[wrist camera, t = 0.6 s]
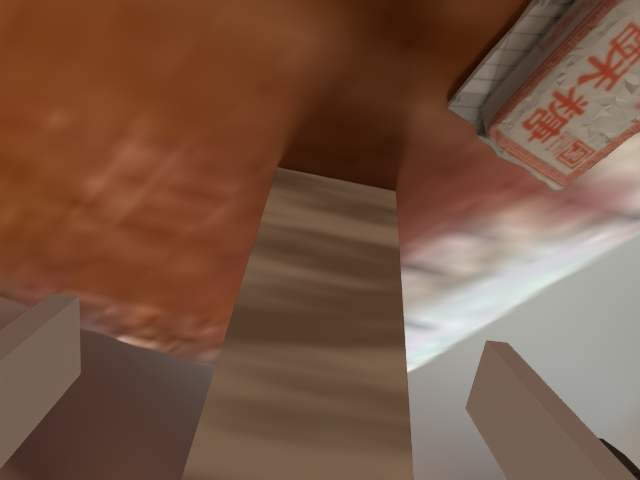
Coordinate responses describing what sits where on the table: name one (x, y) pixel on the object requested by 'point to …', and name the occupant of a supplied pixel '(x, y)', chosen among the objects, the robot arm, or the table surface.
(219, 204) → the table surface
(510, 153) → the packaged product
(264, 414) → the frame
